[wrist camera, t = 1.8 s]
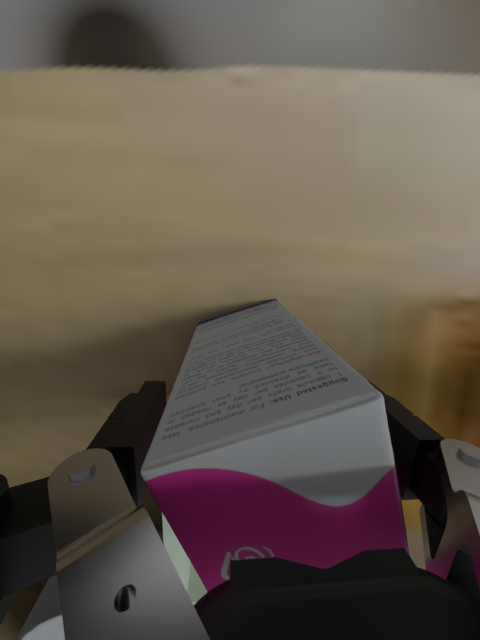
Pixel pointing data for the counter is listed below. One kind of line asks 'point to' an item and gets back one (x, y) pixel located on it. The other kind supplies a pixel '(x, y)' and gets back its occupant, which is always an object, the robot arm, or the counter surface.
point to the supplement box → (272, 449)
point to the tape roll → (48, 613)
